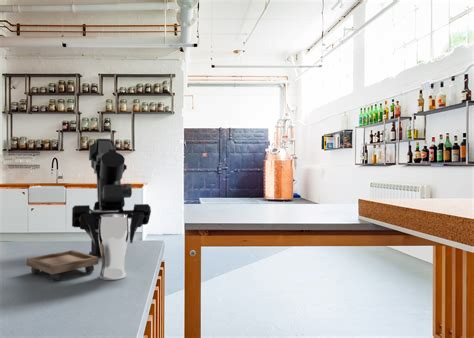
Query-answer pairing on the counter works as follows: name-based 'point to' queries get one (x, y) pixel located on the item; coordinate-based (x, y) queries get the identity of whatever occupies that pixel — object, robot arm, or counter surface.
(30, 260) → the walnut dolly
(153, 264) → the counter surface
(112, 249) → the beer glass
